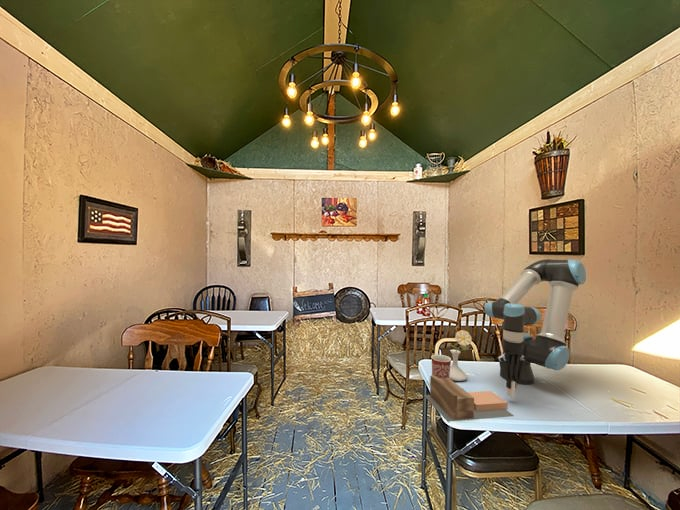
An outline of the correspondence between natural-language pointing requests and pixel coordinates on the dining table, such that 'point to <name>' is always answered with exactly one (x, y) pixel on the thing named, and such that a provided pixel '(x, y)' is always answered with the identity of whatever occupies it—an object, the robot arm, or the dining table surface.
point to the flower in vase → (463, 340)
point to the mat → (476, 413)
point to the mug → (441, 366)
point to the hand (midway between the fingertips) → (510, 395)
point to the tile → (487, 401)
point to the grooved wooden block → (451, 398)
